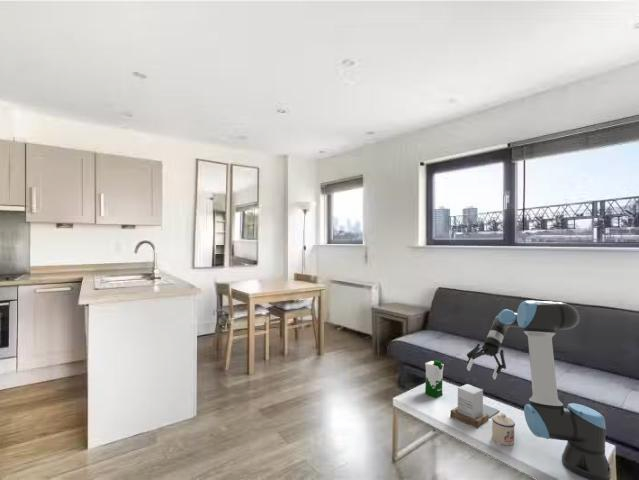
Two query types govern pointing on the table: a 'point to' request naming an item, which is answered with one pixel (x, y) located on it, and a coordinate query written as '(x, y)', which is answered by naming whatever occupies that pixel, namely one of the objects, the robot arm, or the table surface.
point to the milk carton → (434, 378)
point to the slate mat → (489, 411)
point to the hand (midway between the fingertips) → (480, 373)
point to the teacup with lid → (503, 429)
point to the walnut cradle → (469, 420)
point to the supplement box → (470, 401)
